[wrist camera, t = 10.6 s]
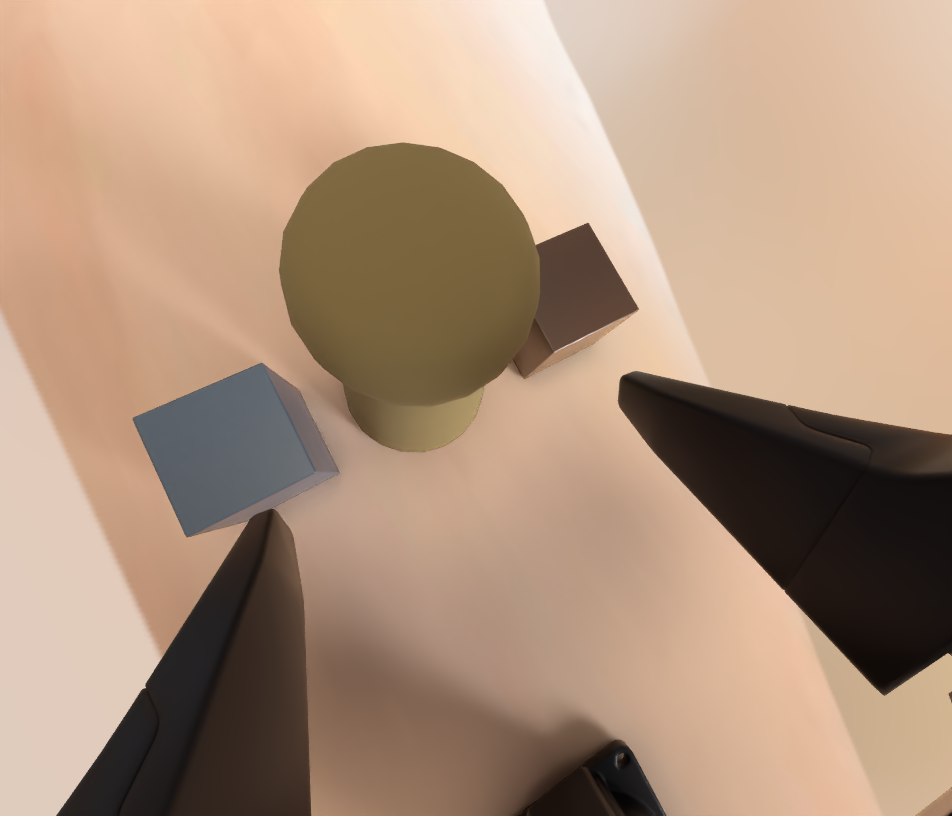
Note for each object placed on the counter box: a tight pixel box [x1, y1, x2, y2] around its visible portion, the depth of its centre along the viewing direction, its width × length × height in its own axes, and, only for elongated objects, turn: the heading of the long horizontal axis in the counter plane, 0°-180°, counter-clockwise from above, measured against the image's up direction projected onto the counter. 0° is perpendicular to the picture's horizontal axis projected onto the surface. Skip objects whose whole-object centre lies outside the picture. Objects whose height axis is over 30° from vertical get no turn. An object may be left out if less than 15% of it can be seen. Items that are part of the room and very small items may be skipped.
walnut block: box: [513, 223, 639, 379], centre depth 17 cm, size 4×4×4 cm
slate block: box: [133, 363, 339, 537], centre depth 14 cm, size 4×4×4 cm
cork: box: [279, 143, 540, 452], centre depth 12 cm, size 6×6×11 cm
